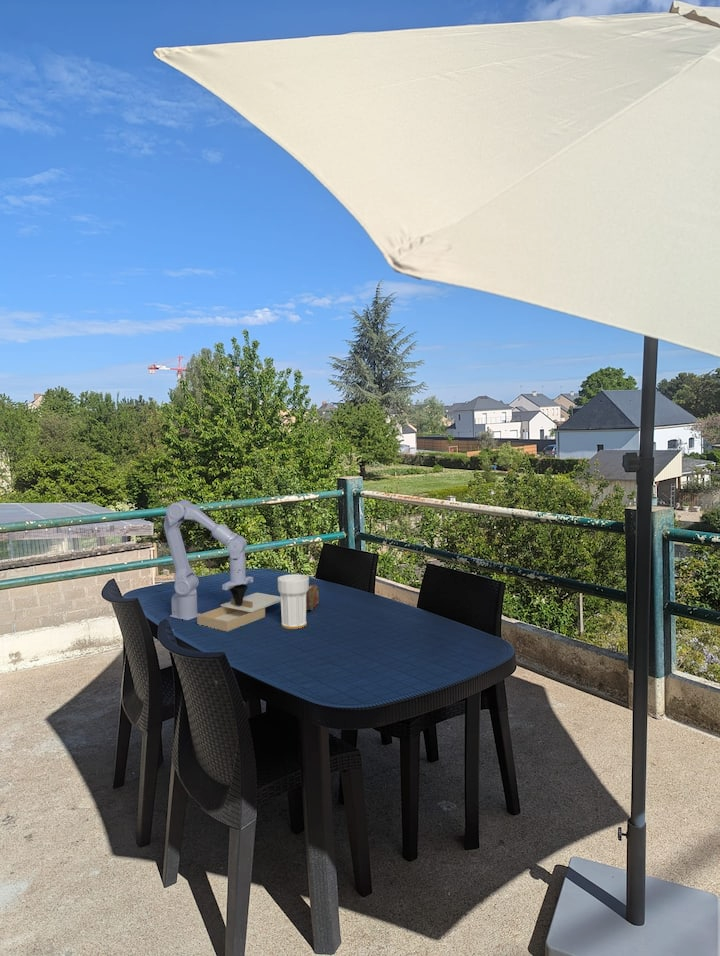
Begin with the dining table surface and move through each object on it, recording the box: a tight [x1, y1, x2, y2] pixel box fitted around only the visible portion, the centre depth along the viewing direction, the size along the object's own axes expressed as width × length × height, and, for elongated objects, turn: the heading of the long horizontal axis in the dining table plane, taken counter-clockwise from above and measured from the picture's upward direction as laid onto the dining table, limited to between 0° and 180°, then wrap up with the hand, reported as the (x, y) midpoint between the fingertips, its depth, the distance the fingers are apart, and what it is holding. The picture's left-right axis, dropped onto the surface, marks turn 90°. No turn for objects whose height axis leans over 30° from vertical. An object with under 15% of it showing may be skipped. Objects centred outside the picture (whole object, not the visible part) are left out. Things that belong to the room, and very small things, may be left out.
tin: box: [306, 584, 320, 612], centre depth 259 cm, size 15×3×8 cm, turn 168°
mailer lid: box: [220, 592, 281, 612], centre depth 253 cm, size 16×20×3 cm
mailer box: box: [196, 606, 266, 632], centre depth 243 cm, size 15×20×4 cm
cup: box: [277, 573, 310, 630], centre depth 237 cm, size 11×11×17 cm
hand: (238, 604), depth 246 cm, fingers closed
